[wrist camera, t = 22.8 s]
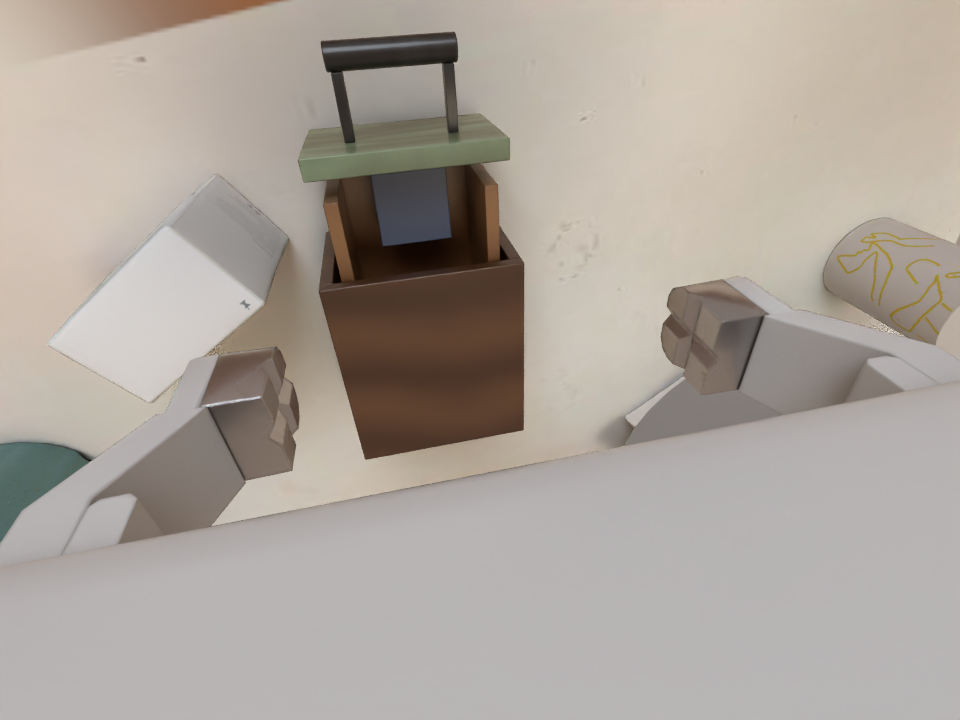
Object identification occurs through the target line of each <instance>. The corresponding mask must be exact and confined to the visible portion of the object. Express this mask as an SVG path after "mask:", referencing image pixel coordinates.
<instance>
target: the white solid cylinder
mask: <svg viewBox="0 0 960 720" xmlns="http://www.w3.org/2000/svg"><path fill="white" fill-rule="evenodd" d="M823 280H824V284H825V287H826V288H827V289H828V290H829V291H830V292H832V293H833V294H835V295H837V296H838V297H840V298H842V299H843V300H845V301H847V302H848V303H850V304H852V305H853V306H855V307H857V308H858V309H860V310H862V311H864V312H865V313H867V314H869V315H870V316H872V317H874V318H875V319H877V320H879V321H880V322H882V323H884V324H885V325H887V326H889V327H890V328H892V329H894V330H895V331H897V332H899V333H901V334H902V335H904V336H906V337H907V338H910V339H913V340H917V341H921V342H925V343H928V344H932V345H936V346H938V347H939V348H941V349H943V350H944V351H946V352H948V353H950V354H951V355H953V356H955V357H956V358H958V359H960V246H959V245H957V244H954V243H951V242H949V241H946V240H944V239H941V238H939V237H936V236H934V235H931V234H928V233H926V232H923V231H921V230H918V229H916V228H913V227H911V226H908V225H906V224H903V223H900V222H898V221H895V220H893V219H890V218H878V219H874V220H871V221H868V222H866V223H864V224H862V225H860V226H859V227H857V228H856V229H854V230H853V231H852V232H850V233H849V234H848V235H847V236H846V237H845V238H844V239H843V240H842V241H841V242H840V243H839V244H838V245H837V246H836V248H835V249H834V250H833V252H832V253H831V255H830V257H829V259H828V261H827V263H826V266H825V269H824V275H823Z"/></svg>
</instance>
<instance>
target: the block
mask: <svg viewBox="0 0 960 720" xmlns="http://www.w3.org/2000/svg"><path fill="white" fill-rule="evenodd" d="M370 178H371V184H372V190H373V195H374V201H375V206H376V212H377V218H378V223H379V229H380V234H381V240H382V246H392V245H400V244H407V243H415V242H423V241H430V240H438V239H446V238H451V237H452V235H451V223H450V212H449V201H448V190H447V178H446V168H445V167H442V168H433V169H424V170H415V171H406V172H397V173H387V174H378V175H370Z"/></svg>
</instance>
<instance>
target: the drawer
mask: <svg viewBox="0 0 960 720" xmlns="http://www.w3.org/2000/svg"><path fill="white" fill-rule="evenodd" d="M321 48H322V54H323V59H324V64H325V68H326V71H327V72H331V76H332V81H333V86H334V91H335V96H336V101H337V106H338V111H339V116H340V121H341V126H342V127H335V128H324V129H314V130H309V131H308V134H307V136H306V139H305V142H304V145H303V147H302V150H301V153H300V155H299V158H298V163H299V167H300V171H301V175H302V179H303V182H314V181H323V180H327V183H326V190H325V196H324V203H323V207H324V211H325V215H326V219H327V223H328V227H329V231H330V236H331V240H332V244H333V248H334V252H335V256H336V260H337V264H338V269H339V273H340V277H341V281H342V283H343V282H350V281H357V280H365V279H372V278H379V277H386V276H394V275H401V274H408V273H415V272H423V271H430V270H437V269H444V268H452V267H459V266H466V265H473V264H481V263H488V262H495V261H500V243H499V208H498V184H497V183H496V182H495V181H494V179H493V178H492V177H491V176H490V174H489V173H488V172H487V171H486V169H485V168H484V167H483V166H482V165H481V163H488V162H497V161H506V160H510V138H509V137H508V136H506V135H505V134H504V133H503V132H502V131H500V130H499V129H498V128H497V127H496V126H494V125H493V124H492V123H491V122H490V121H489V120H487V119H486V118H485V117H484V116H483V115H481V114H472V115H461V116H458V114H457V100H456V86H455V71H454V63H453V62H457V60H458V45H457V37H456V34H455V32H442V33H428V34H414V35H400V36H386V37H372V38H358V39H344V40H330V41H321ZM440 63H442V71H443V83H444V95H445V108H446V117H440V118H430V119H419V120H409V121H398V122H387V123H377V124H366V125H356V126H353V124H352V119H351V114H350V108H349V103H348V98H347V92H346V87H345V82H344V76H343V72H342V71H353V70H365V69H378V68H390V67H403V66H415V65H428V64H440ZM442 167H445V168H446V178H447V190H448V201H449V212H450V223H451V235H452V237H451V238H446V239H438V240H430V241H423V242H415V243H407V244H400V245H392V246H382V240H381V234H380V229H379V223H378V218H377V212H376V206H375V201H374V195H373V190H372V184H371V178H370V175H378V174H387V173H397V172H406V171H415V170H424V169H433V168H442Z"/></svg>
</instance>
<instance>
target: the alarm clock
mask: <svg viewBox="0 0 960 720" xmlns="http://www.w3.org/2000/svg"><path fill="white" fill-rule="evenodd" d="M781 415H782V414H780V413H778V412H776V411H774V410H772V409H770V408H768V407H767V406H765V405H763V404H761V403H759V402H757V401H755V400H753V399H751V398H750V397H748V396H746V395H744V394H742V393H740V392H738V390H734V391H727V392H721V393H714V394H708V395H702V396H701V395H700V394H699V393H698V392H697V391H696V390H695V389H694V387H693V386H692V385H691V384H690V383H689V382H688V381H687V380H686V379H685V377H684V376H683V377H681V378H680V379H678V380H677V381H676V382H674V383H673V384H671V385H670V386H668V387H667V388H666V389H664V390H663V391H661V392H660V393H658V394H657V395H656V396H654V397H653V398H651V399H650V400H648V401H647V402H645V403H644V404H643V405H641V406H640V407H638V408H637V409H635V410H634V411H633V412H631V413H630V414H628V415H627V416H625V418H626V419H627V421H628V422H629V423H630V424H631V425H632V426H633V427H634V429H633V431H632V433H631V434H630V436H629V438H628V440H627V442H626V443H625V445H624V446H627V445H632V444H637V443H642V442H647V441H652V440H658V439H663V438H668V437H673V436H678V435H683V434H688V433H694V432H699V431H704V430H709V429H714V428H719V427H724V426H730V425H735V424H740V423H745V422H750V421H755V420H760V419H766V418H771V417H776V416H781Z"/></svg>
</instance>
